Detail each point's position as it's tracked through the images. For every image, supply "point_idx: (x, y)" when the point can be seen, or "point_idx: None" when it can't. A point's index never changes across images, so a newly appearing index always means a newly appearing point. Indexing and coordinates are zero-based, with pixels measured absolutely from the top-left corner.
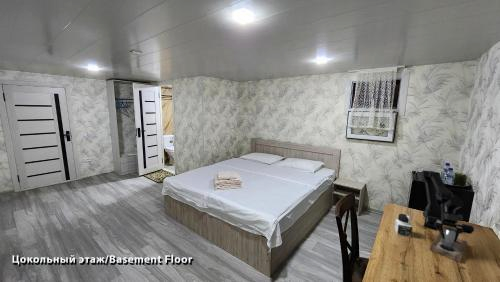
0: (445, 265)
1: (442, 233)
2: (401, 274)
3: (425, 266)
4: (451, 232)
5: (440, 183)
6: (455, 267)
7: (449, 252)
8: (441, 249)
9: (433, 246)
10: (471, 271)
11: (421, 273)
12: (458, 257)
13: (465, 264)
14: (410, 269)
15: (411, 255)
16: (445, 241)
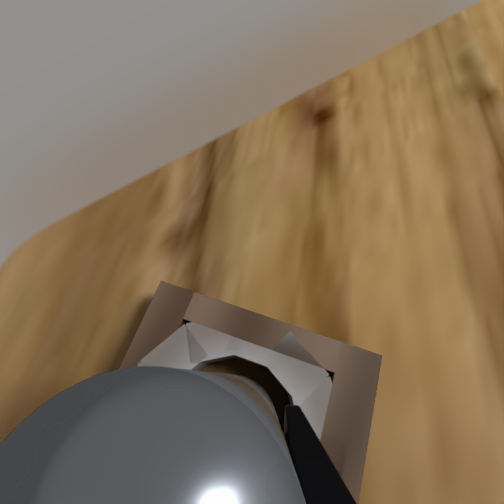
0: (274, 203)
1: (325, 482)
2: (464, 26)
3: (379, 131)
4: (153, 368)
5: None
6: (219, 215)
7: (226, 334)
8: (287, 349)
9: (354, 366)
10: (135, 227)
11: (391, 71)
12: (173, 286)
13: (140, 294)
14: (440, 71)
15: (467, 193)
16: (259, 390)
